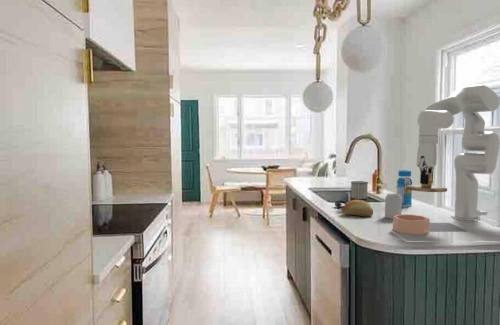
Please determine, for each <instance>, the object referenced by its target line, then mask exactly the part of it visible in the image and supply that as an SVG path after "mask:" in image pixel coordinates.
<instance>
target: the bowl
mask: <svg viewBox="0 0 500 325" xmlns="http://www.w3.org/2000/svg"><path fill="white" fill-rule="evenodd" d="M429 223H430V218H429V217H427V216H424V215H418V214H412V213H411V214H408V213H407V214H402V213H401V214H399V215H395V216H393V219H392V230H393V231H395V232H396V233H399V234H405V235H425V234H428V233H430V231H429Z"/></svg>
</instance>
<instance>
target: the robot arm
mask: <svg viewBox="0 0 500 325" xmlns="http://www.w3.org/2000/svg"><path fill="white" fill-rule="evenodd" d="M499 106H500V97H499V95H498V94H497V93H496V92H495V91H494V90H492V88H490V87H489V86H487V85H485V84H472V85H471V84H470V85H469V84H468V85H461V86H459V87H457V88H456V89H454V91H453V92H451V94H449V95H448V96H447V97H446V98H444V99H441V100H439V101H436V102H434V103H432V104H429V105H427V106H425V108H424V109H422V111H421V110H420V113H419V114H418V116H417V124H418V147H417V155H416V167H418V168H419V172H420V176H419V179H420V180H419V184H420V185H421V184H428V179H429V175H427V174H428V173H432V184H433V182H434V169H435V167H436V165H437V154H438V153H437V150H438V149H437V148H438V146H437V144H439V129H448V128H450V127H452V125H453V124H454V120H455V118H454V116H455V115H458V114H459V113H462V115H463V118H464V129H463V133H462V138H461V147H462V149H463V150H464V151H468V152H463V153H459V154H456V155H455V157H454V161H453V162H454V170H455V171H454V172H455V194H454V196H455V197H454V198H455V200H454V213H452V214H451V215H450V217H451V218H452V219H455V220H459V221H460V220H462V221H475V222H478V221H481V216H488V212H487V211H484V210H483V211H482V210H479V209H478V201H479V200H478V199H479V197H478V194H479V193H478V192H479V181H478V179H477V178H476V176H475V174H476V175H491V174H493V173H494V172H495V171H496V167H497V161H498V158H499V157H498V156H499V152H500V151H499V150H500V136H499V134H498V133H497V132H495V131H485V127H486V121H485V119H484V117H482V115H481V114H480V113H481V112H482V113H483V112H493V111H496V110H497V109H498V108H499ZM479 112H480V113H479ZM474 152H475V153H474ZM476 152H478V153H476ZM479 152H482V153H479ZM483 152H484V153H483Z"/></svg>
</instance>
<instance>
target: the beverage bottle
mask: <svg viewBox="0 0 500 325" xmlns="http://www.w3.org/2000/svg"><path fill="white" fill-rule="evenodd" d="M397 175H398V177H399V178H398V179H397V180H396V184H397V185H396V194H400V196H401V197H402V207H403V208H406V207H412V205H413V204H412V194H413V190H408V189H406V186H409V185H413V181H412V179H411V176H412V171H411V170H408V169H407V170H406V169H405V170H404V169H402V170H398V174H397Z"/></svg>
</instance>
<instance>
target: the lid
mask: <svg viewBox="0 0 500 325" xmlns="http://www.w3.org/2000/svg"><path fill="white" fill-rule="evenodd" d="M427 175H429V179H428V184H420V185H419V184H418V185H417V184H412V185H409V186H406V189H408V190H412V192H413V191H415V192H425V193H445V192H448V188H447V187H445V186H443V187H442V186H437V185H433V183H432V173H428V174H427Z"/></svg>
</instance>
